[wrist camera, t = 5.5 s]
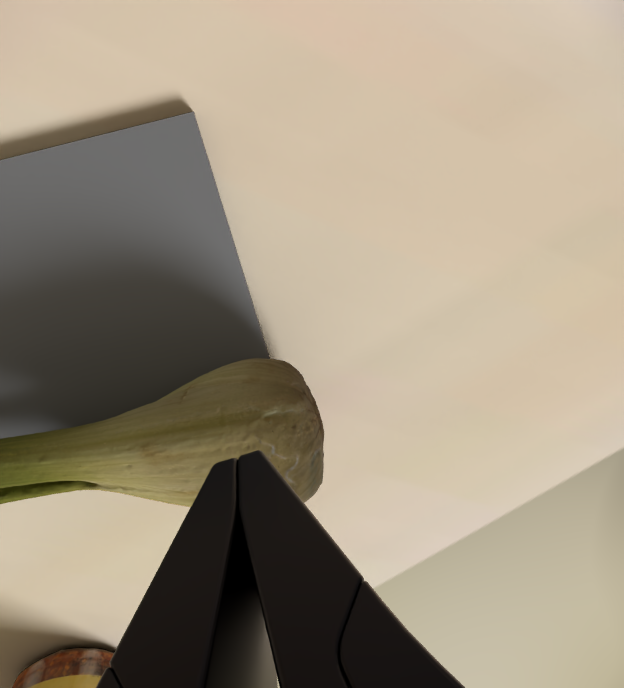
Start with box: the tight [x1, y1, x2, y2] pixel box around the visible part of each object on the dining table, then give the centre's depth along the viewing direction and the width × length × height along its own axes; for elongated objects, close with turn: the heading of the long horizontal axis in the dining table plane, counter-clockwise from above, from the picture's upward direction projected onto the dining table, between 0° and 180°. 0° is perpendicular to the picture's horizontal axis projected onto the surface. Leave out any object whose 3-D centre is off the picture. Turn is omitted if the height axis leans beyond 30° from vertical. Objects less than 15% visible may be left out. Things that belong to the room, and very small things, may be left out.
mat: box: [0, 112, 270, 439], centre depth 15 cm, size 12×11×1 cm
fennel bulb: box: [0, 358, 324, 507], centre depth 15 cm, size 6×5×12 cm
